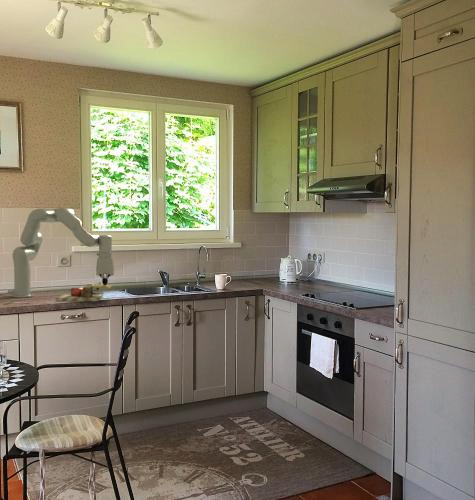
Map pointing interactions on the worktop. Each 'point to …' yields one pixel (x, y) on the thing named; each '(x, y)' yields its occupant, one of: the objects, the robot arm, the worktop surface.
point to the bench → (78, 298)
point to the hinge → (97, 288)
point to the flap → (101, 286)
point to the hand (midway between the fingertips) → (104, 284)
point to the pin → (78, 290)
